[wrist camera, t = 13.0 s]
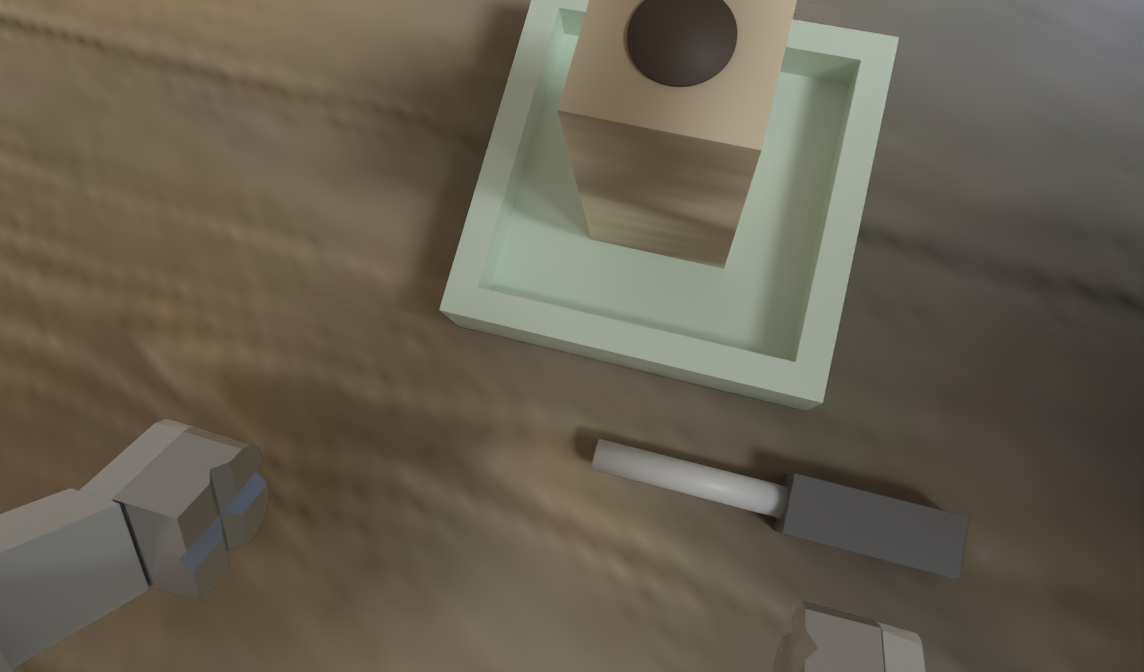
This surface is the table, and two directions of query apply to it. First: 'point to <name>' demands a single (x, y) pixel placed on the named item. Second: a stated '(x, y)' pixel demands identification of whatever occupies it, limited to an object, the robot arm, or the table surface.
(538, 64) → the tray
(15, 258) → the table surface
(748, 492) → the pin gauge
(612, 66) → the bored block
